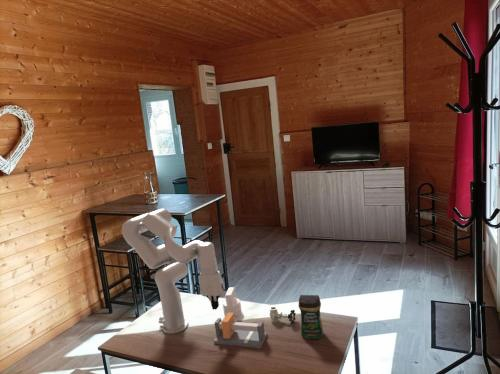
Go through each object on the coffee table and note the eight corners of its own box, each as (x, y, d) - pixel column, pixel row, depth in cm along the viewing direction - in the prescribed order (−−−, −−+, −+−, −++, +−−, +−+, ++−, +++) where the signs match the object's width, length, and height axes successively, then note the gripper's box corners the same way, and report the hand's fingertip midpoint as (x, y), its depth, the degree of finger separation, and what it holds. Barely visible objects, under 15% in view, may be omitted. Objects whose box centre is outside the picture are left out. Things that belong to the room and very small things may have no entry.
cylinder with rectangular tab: (226, 308, 200) (223, 287, 198) (242, 308, 198) (239, 286, 196) (222, 317, 191) (219, 295, 189) (240, 316, 190) (236, 294, 188)
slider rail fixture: (214, 343, 169) (211, 326, 168) (223, 331, 178) (220, 314, 177) (260, 348, 161) (258, 330, 160) (267, 335, 171) (265, 317, 169)
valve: (268, 323, 180) (291, 327, 175) (266, 311, 179) (290, 314, 174) (273, 316, 186) (296, 320, 181) (272, 304, 185) (295, 307, 180)
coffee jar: (300, 340, 164) (296, 300, 161) (302, 329, 171) (298, 291, 168) (323, 340, 161) (319, 300, 158) (324, 330, 169) (320, 291, 166)
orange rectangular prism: (223, 338, 168) (221, 321, 167) (230, 328, 175) (228, 312, 174) (229, 338, 167) (227, 322, 166) (236, 328, 174) (234, 312, 173)
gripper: (190, 273, 167) (197, 311, 170) (220, 273, 162) (227, 312, 165) (198, 266, 174) (204, 303, 177) (227, 266, 169) (233, 304, 172)
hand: (215, 307), depth 171 cm, fingers closed
